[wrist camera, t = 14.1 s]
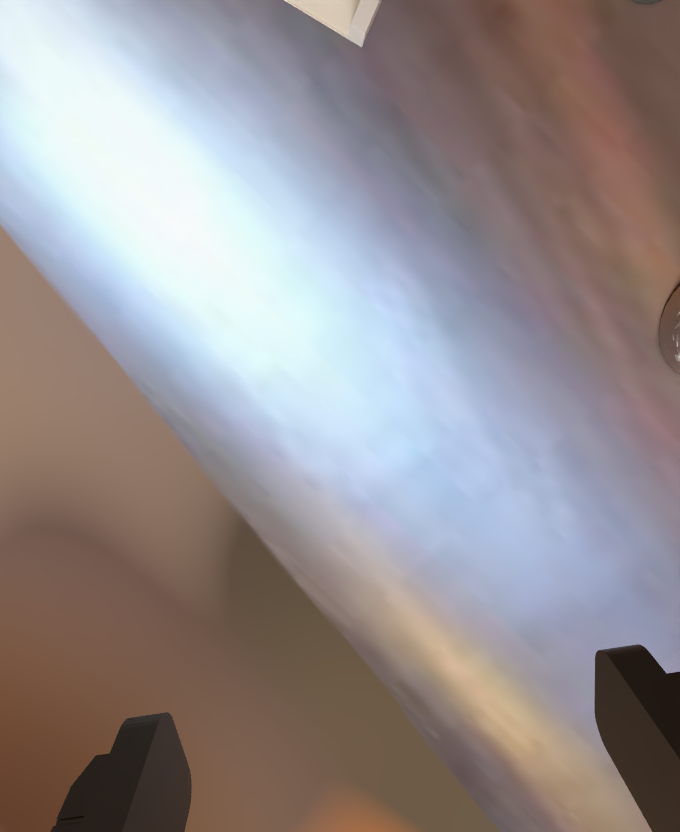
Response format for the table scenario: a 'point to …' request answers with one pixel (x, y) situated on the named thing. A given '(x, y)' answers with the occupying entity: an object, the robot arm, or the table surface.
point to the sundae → (646, 1)
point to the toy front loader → (342, 15)
